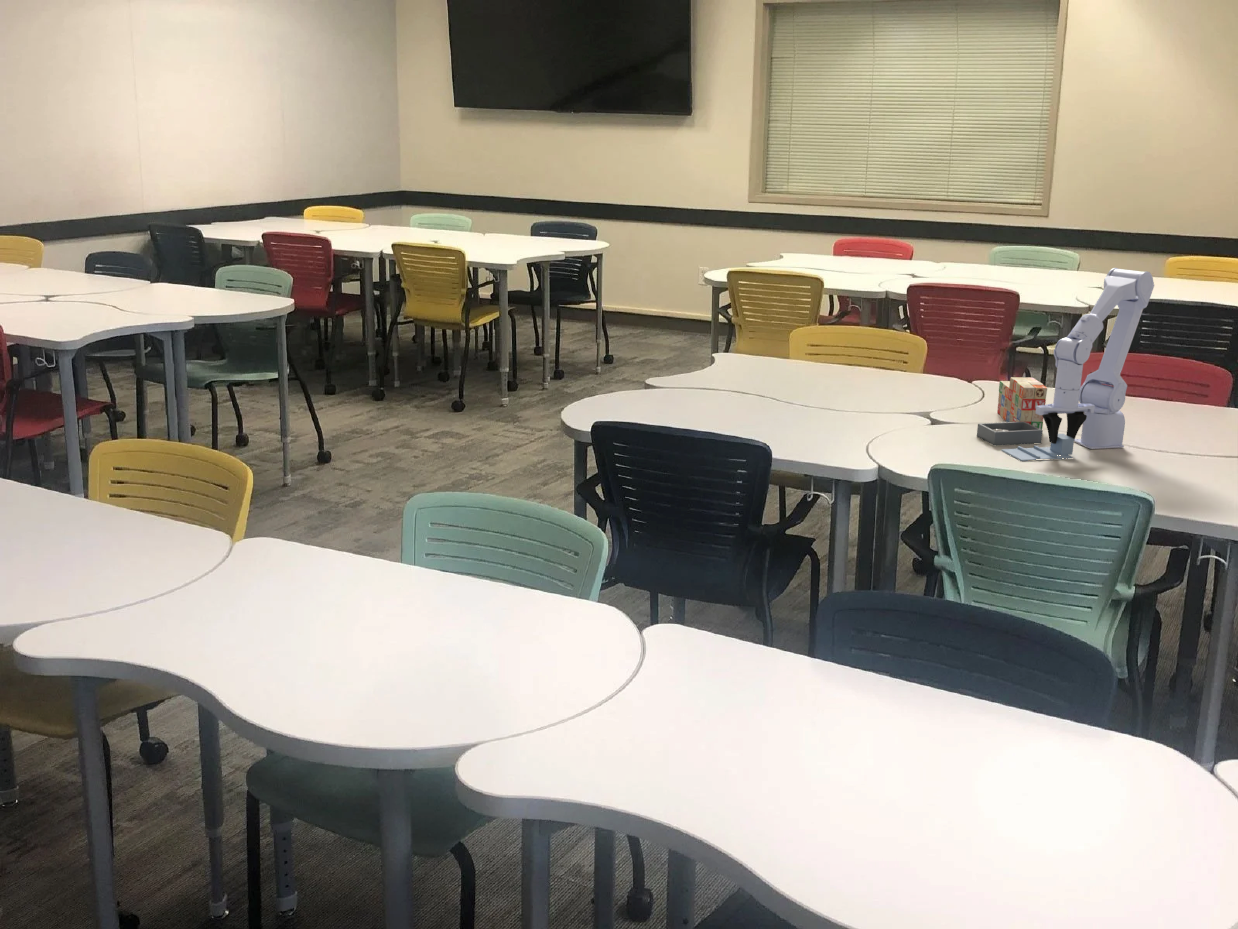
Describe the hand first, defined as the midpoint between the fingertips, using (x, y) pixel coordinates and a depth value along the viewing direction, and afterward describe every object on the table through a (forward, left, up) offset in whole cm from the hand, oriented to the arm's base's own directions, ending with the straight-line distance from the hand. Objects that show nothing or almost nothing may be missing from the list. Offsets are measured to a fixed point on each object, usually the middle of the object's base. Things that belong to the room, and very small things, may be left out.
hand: (1061, 442), depth 292 cm
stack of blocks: (-6, -31, -3) cm, 32 cm away
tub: (+6, -14, -3) cm, 16 cm away
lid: (+6, 0, -4) cm, 7 cm away
